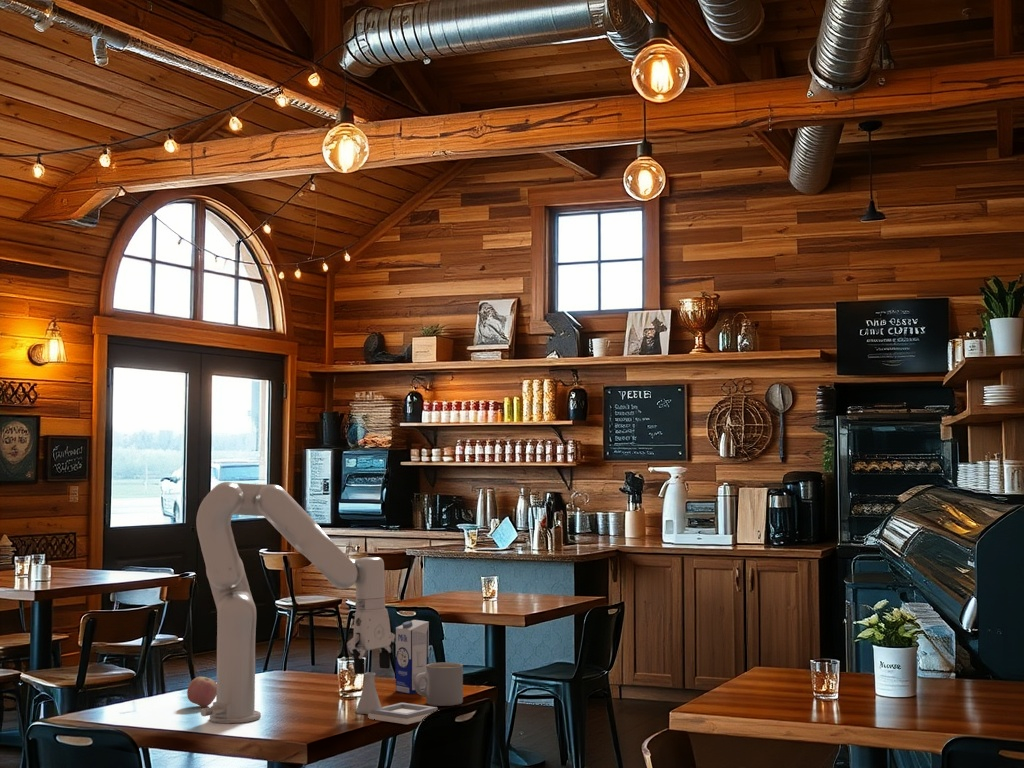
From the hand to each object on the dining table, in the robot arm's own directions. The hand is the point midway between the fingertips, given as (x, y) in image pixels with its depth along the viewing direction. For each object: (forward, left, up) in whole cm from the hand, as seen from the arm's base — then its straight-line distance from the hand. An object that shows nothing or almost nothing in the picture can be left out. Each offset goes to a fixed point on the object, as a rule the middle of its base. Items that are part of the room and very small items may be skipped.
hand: (372, 670), depth 313 cm
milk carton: (+29, +11, -11) cm, 33 cm away
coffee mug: (+20, -6, -11) cm, 24 cm away
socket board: (-1, -12, -11) cm, 16 cm away
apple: (-21, +42, -11) cm, 48 cm away
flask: (-1, 0, -11) cm, 11 cm away
